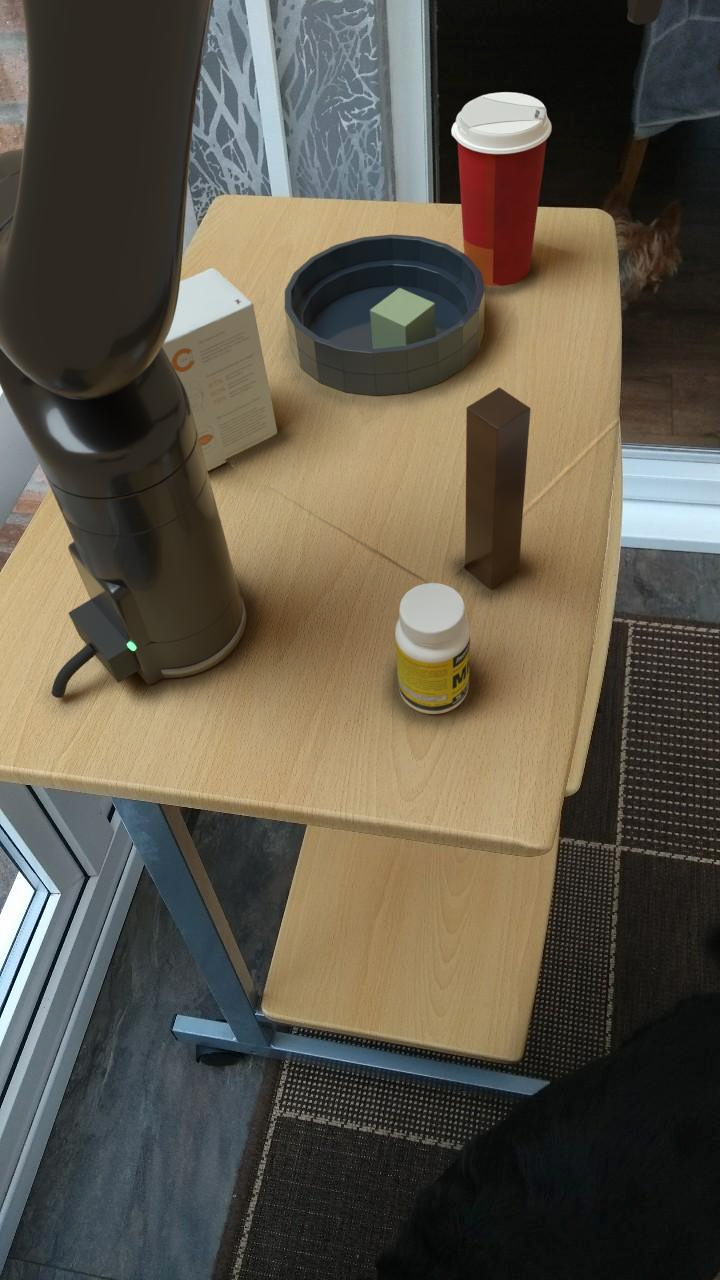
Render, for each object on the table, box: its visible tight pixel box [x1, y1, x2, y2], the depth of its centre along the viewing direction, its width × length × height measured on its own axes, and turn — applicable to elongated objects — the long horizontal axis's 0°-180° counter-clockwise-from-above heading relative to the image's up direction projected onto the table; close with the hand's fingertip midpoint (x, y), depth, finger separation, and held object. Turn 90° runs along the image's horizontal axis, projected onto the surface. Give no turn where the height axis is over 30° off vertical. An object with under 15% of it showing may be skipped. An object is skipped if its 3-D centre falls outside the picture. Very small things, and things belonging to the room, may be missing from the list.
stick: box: [464, 387, 531, 590], centre depth 68 cm, size 3×3×15 cm
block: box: [370, 288, 436, 349], centre depth 89 cm, size 4×4×4 cm
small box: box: [162, 266, 278, 472], centre depth 80 cm, size 8×6×13 cm
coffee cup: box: [451, 91, 553, 287], centre depth 91 cm, size 8×8×15 cm
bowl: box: [284, 234, 486, 397], centre depth 90 cm, size 17×17×5 cm
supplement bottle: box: [394, 582, 471, 715], centre depth 65 cm, size 5×5×8 cm
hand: (685, 46), depth 65 cm, fingers open, 8 cm apart
